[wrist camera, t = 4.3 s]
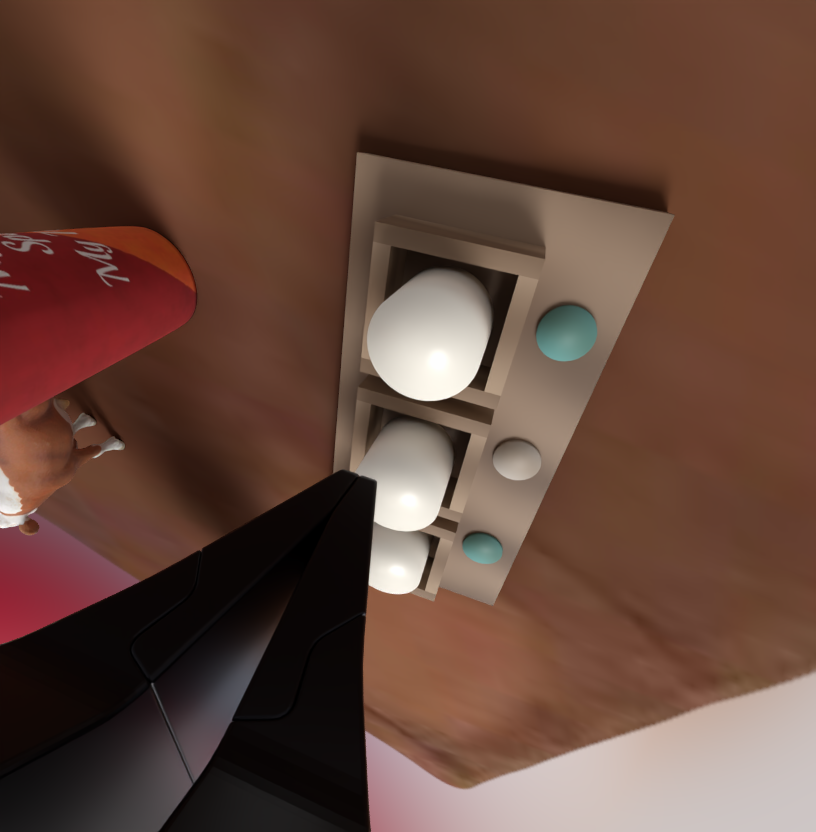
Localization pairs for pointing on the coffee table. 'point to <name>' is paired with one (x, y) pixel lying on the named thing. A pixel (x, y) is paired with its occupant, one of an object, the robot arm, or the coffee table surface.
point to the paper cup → (83, 305)
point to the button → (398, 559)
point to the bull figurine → (40, 459)
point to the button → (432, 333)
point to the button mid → (409, 472)
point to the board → (490, 340)
